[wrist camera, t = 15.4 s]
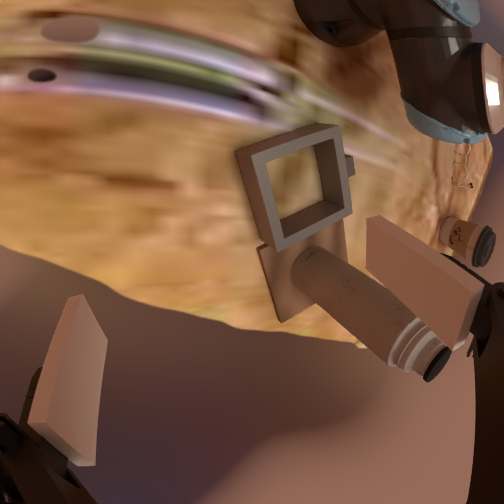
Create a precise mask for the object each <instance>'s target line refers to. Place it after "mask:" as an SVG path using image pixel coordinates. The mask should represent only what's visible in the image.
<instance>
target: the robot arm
mask: <svg viewBox="0 0 504 504" xmlns="http://www.w3.org/2000/svg"><path fill="white" fill-rule="evenodd" d="M294 1H295V5H296V8H297V11H298V13H299V15H300V17H301V18H302V20H303V22H304V23H305V24H306V26H307V27H308V28H309V29H310V30H311V31H312V32H313V33H314V34H315V35H316V36H317V37H319V38H320V39H322V40H323V41H325V42H327V43H329V44H332V45H335V46H340V47H346V46H353V45H358V44H361V43H363V42H365V41H367V40H368V39H370V38H371V37H373V36H375V35H376V34H378V33H379V32H381V31H383V30H386V32H387V35H388V38H389V42H390V46H391V50H392V54H393V58H394V62H395V66H396V70H397V74H398V79H399V84H400V88H401V93H400V94H401V98H402V100H403V102H404V105H405V110H406V114H407V118H408V120H409V122H410V123H411V124H412V125H413V126H414V128H415V129H417V130H418V131H419V132H421V133H423V134H425V135H427V136H429V137H432V138H435V139H438V140H441V141H445V142H450V143H456V144H462V143H463V142H464V143H467V144H476V143H479V142H482V141H483V140H484V139H485V136H486V135H487V133H492V134H497V133H498V132H499V131H500V130H501V129H502V128H503V127H504V57H503V56H501V55H499V54H498V53H497V52H496V51H495V50H494V49H493V48H492V47H491V46H489V45H488V44H487V43H475V42H474V41H473V37H472V33H471V29H470V27H473V26H474V25H476V24H478V23H479V21H480V13H479V10H480V9H479V4H478V1H477V0H294ZM429 37H439V38H429ZM458 37H462V38H458ZM408 38H412V39H408ZM397 39H398V40H397ZM366 269H367V270H368V271H369V272H370V273H371V274H372V275H373V276H374V277H375V278H377V279H378V280H379V281H380V282H381V283H382V284H383V285H384V286H385V287H386V288H388V289H389V290H390V291H391V292H392V293H393V294H394V295H395V296H396V297H397V298H398V299H399V300H400V301H401V302H403V303H404V304H405V305H406V306H407V307H408V308H409V309H410V310H411V311H412V312H413V313H414V314H415V315H416V316H417V317H418V318H419V319H420V320H421V321H422V322H423V323H424V324H425V325H426V326H427V327H429V328H430V329H431V330H432V331H433V332H434V333H435V334H436V335H437V336H438V337H439V338H440V339H441V340H442V341H443V342H444V343H445V344H446V345H447V346H448V347H449V348H450V350H451V351H453V350H455V349H457V348H458V347H460V346H461V345H463V344H464V343H465V342H466V339H467V336H468V334H469V331H470V332H471V333H472V334H473V335H474V337H473V340H472V342H471V345H470V347H469V350H468V352H467V357H469V356H470V353H471V351H472V350H473V356H472V357H474V370H475V390H476V391H475V395H476V419H475V443H474V456H473V465H472V474H471V481H470V488H469V494H468V499H467V503H466V504H504V283H503V282H499V283H495V284H493V285H491V284H490V283H489V282H487V281H486V280H485V279H483V278H482V277H480V276H479V275H478V274H476V273H475V272H473V271H472V270H471V269H468V268H467V267H466V266H465V265H463V264H461V263H460V262H459V261H458V260H456V259H454V258H453V257H451V256H449V255H446V254H443V253H439V252H437V251H436V250H434V249H433V248H431V247H430V246H428V245H427V244H425V243H424V242H422V241H421V240H419V239H417V238H416V237H414V236H413V235H411V234H410V233H408V232H406V231H405V230H403V229H401V228H400V227H398V226H397V225H395V224H393V223H392V222H390V221H388V220H387V219H385V218H383V217H382V216H380V215H378V216H374V217H370V218H367V231H366ZM107 343H108V340H107V339H106V337H105V335H104V333H103V331H102V330H101V328H100V326H99V324H98V323H97V321H96V319H95V317H94V315H93V313H92V311H91V309H90V307H89V305H88V303H87V301H86V300H85V297H84V295H83V294H82V295H77V296H74V297H70V298H68V301H67V303H66V306H65V308H64V310H63V313H62V315H61V318H60V320H59V323H58V326H57V328H56V331H55V333H54V336H53V339H52V342H51V344H50V347H49V350H48V353H47V356H46V359H45V362H44V365H43V367H40V368H38V369H37V371H36V372H35V374H34V375H33V377H32V379H31V382H30V385H29V390H28V392H27V395H26V399H25V402H24V406H23V410H22V413H21V417H20V421H19V425H17V424H16V423H15V422H14V421H13V420H12V419H11V418H10V417H9V416H8V415H7V414H4V413H0V504H98V503H97V502H96V501H95V500H94V498H93V497H92V496H91V495H90V494H89V492H88V491H87V490H86V489H85V487H84V486H83V485H82V483H81V482H80V481H79V480H78V478H77V477H76V476H75V474H74V473H73V471H71V470H70V469H69V468H68V467H67V462H68V459H69V460H70V461H71V462H73V463H74V464H75V465H77V466H95V456H96V455H95V454H96V437H97V423H98V411H99V401H100V392H101V384H102V376H103V369H104V362H105V355H106V349H107ZM4 495H5V496H7V497H8V503H7V502H6V501H5V497H4Z"/></svg>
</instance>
